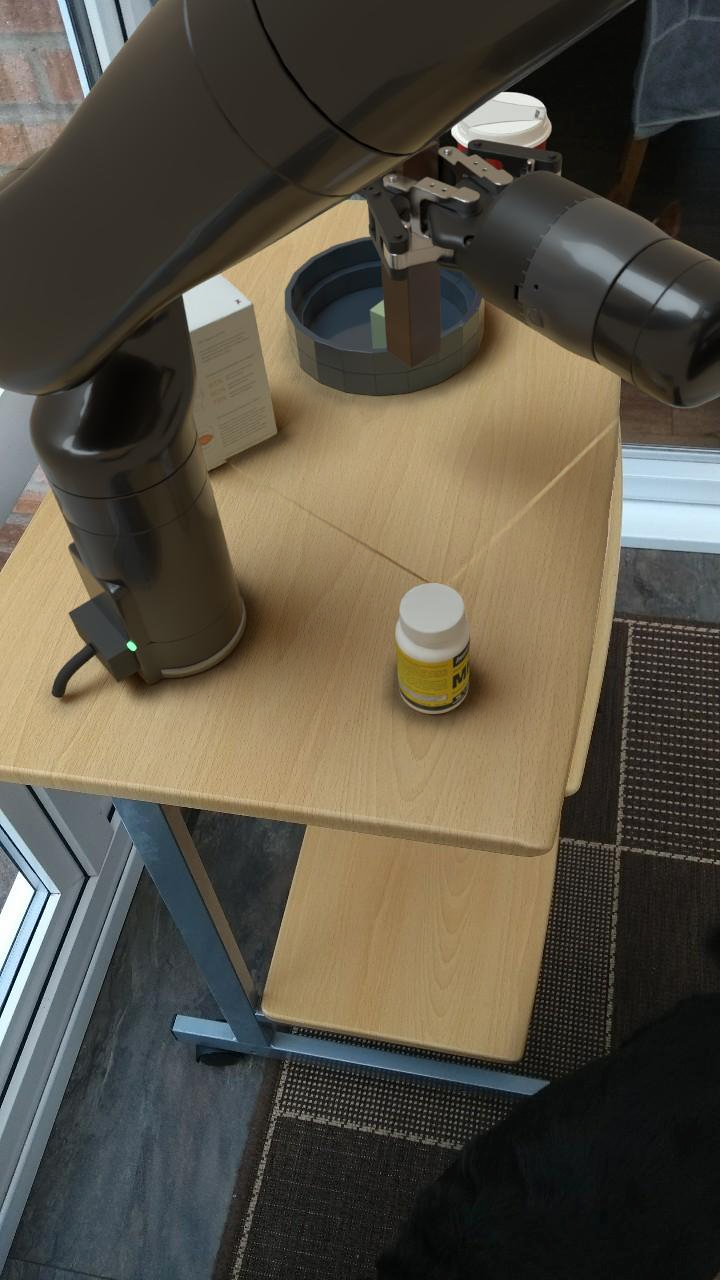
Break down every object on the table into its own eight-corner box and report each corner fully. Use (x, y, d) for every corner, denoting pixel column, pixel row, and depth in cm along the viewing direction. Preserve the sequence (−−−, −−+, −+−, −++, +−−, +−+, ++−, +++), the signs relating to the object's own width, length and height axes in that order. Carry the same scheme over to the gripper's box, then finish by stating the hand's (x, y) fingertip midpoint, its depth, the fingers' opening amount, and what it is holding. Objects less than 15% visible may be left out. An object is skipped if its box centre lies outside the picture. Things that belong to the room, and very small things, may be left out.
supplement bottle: (463, 720, 67) (464, 642, 60) (392, 711, 67) (385, 633, 61) (473, 662, 69) (475, 581, 63) (405, 653, 70) (400, 573, 64)
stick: (411, 368, 72) (402, 160, 60) (386, 351, 73) (372, 143, 61) (441, 351, 73) (438, 142, 61) (416, 334, 74) (408, 126, 62)
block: (407, 365, 88) (405, 326, 85) (372, 348, 90) (369, 309, 87) (436, 342, 90) (435, 302, 87) (401, 326, 92) (399, 287, 89)
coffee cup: (546, 250, 98) (558, 90, 87) (535, 301, 94) (546, 138, 82) (460, 245, 100) (460, 87, 88) (445, 294, 95) (443, 134, 83)
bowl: (373, 428, 85) (368, 380, 81) (254, 338, 93) (245, 290, 89) (522, 339, 90) (525, 289, 86) (398, 261, 99) (395, 213, 95)
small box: (243, 399, 88) (214, 264, 78) (280, 438, 85) (255, 302, 74) (160, 438, 86) (119, 304, 76) (194, 480, 82) (156, 345, 72)
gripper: (675, 154, 55) (459, 57, 63) (482, 260, 50) (277, 140, 59) (654, 278, 61) (459, 174, 69) (479, 383, 56) (294, 257, 65)
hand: (376, 159), depth 64 cm, fingers closed on stick, 3 cm apart
